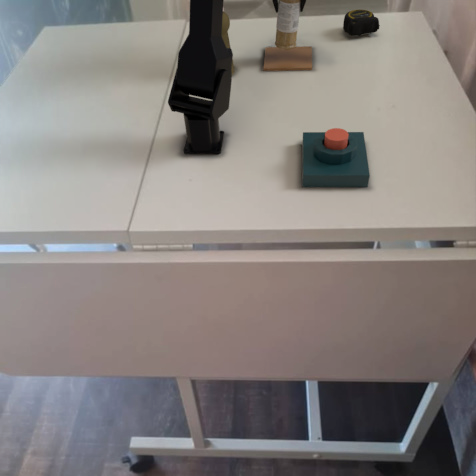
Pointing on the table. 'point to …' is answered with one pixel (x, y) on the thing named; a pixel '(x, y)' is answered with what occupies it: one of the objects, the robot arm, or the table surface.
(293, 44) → the sprinkles bottle
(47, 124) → the table surface
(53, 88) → the table surface
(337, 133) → the red button cap
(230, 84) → the robot arm
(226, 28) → the pepper shaker
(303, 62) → the coaster
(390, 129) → the table surface
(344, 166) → the teal push button base
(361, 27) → the tape measure
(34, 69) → the table surface
